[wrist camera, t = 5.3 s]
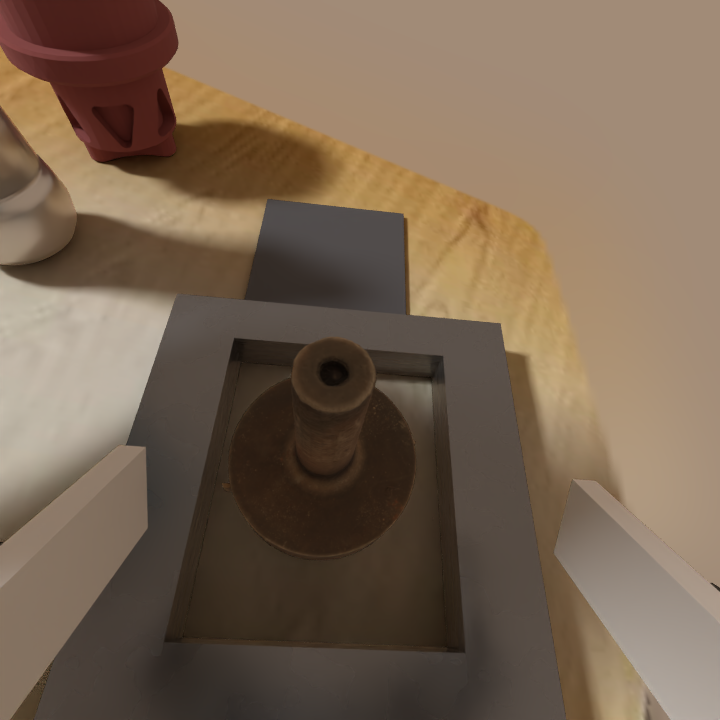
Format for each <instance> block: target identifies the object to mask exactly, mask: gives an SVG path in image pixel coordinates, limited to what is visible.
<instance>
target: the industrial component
mask: <svg viewBox="0 0 720 720" xmlns="http://www.w3.org/2000/svg"><path fill="white" fill-rule="evenodd" d="M376 375H377V374H376V370H375V366H374V364H373V362H372V360H371V358H370V356H369V354H368V353H367V351H366V350H364V349H363V348H362V347H361V346H360V345H358V344H356V343H354V342H353V341H351V340H347V339H345V338H341V337H326V338H322V339H321V340H318V341H315V342H314V343H310V344H308V345H307V346H305V347H304V348H303V349H302V350H300V351H299V352H298V354H297V356H296V357H295V358H294V361H293V368H292V373H291V378H289V379H286V380H284V381H282V382H280V383H278V384H276V385H274V386H272V387H270V388H269V389H268V390H267V391H265V392H264V393H263V394H262V395H260V396H259V397H258V398H257V399H256V400H255V401H254V402H253V403H252V404H251V405H250V407H249V408H248V409H247V410H246V412H245V413H244V414H243V416H242V418H241V420H240V421H239V423H238V425H237V427H236V429H235V432H234V435H233V438H232V441H231V444H230V449H229V458H228V473H229V482H230V483H222V486H223V488H224V490H225V491H229V492H232V493H233V496H234V499H235V501H236V504H237V506H238V508H239V510H240V511H241V513H242V515H243V516H244V518H245V519H246V521H247V522H248V523H249V524H250V526H251V527H252V528H253V530H254V531H255V532H256V533H257V534H258V535H259V536H260V537H261V538H262V539H263V540H264V541H266V542H267V543H268V544H269V545H270V546H273V547H274V548H276V549H278V550H280V551H281V552H284V553H286V554H288V555H291V556H294V557H298V558H302V559H308V560H332V559H338V558H342V557H346V556H349V555H351V554H354V553H356V552H358V551H360V550H362V549H364V548H366V547H367V546H369V545H370V544H372V543H373V542H375V541H376V540H377V539H378V538H379V537H380V536H382V535H383V534H384V533H385V532H386V531H387V530H388V529H389V528H390V527H391V526H392V525H393V524H394V523H395V521H396V520H397V519H398V517H399V516H400V515H401V513H402V511H403V510H404V508H405V506H406V504H407V502H408V500H409V497H410V495H411V492H412V489H413V485H414V480H415V474H416V453H415V444H416V442H415V441H414V439H413V438H412V435H411V432H410V429H409V427H408V424H407V423H406V421H405V419H404V417H403V416H402V414H401V412H400V411H399V410H398V408H397V407H396V406H395V405H394V404H393V402H392V401H391V400H390V399H389V398H388V397H387V396H386V395H384V394H383V393H382V392H381V391H380V390H378V389H377V388H375V383H376ZM433 519H434V518H433Z"/></svg>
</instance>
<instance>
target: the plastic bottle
mask: <svg viewBox="0 0 720 720" xmlns="http://www.w3.org/2000/svg"><path fill="white" fill-rule="evenodd" d="M76 223H77V213H76V210H75V207H74V205H73V202H72V199H71V197H70V194H69V192H68V190H67V188H66V187H65V186H64V184H63V183H62V182H61V181H60V179H59V178H58V177H57V176H56V174H55V173H54V172H53V171H52V170H51V168H50V167H49V166H48V165H47V164H46V163H45V162H44V161H43V160H42V159H41V158H40V157H39V156H38V155H37V154H36V153H35V152H34V150H33V149H32V148H31V146H30V145H29V144H28V142H27V141H26V139H25V138H24V137H23V135H22V134H21V133H20V131H19V130H18V129H17V127H16V126H15V125H14V123H13V122H12V121H11V119H10V118H9V117H8V115H7V114H6V113H5V111H4V110H3V109H2V107H1V106H0V264H1V265H11V266H13V265H25V264H30V263H34V262H38V261H41V260H43V259H46V258H48V257H50V256H52V255H54V254H56V253H57V252H59V251H60V250H61V249H63V248H64V247H65V246H66V245H67V244H68V243H69V242H70V240H71V239H72V237H73V235H74V231H75V227H76Z"/></svg>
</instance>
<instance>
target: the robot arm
mask: <svg viewBox="0 0 720 720" xmlns="http://www.w3.org/2000/svg"><path fill="white" fill-rule="evenodd" d="M147 528H148V517H147V476H146V447H140V446H126V445H118V446H117V447H116V448H115V449H114V450H113V451H111V452H110V453H109V454H108V455H107V456H105V457H104V458H103V459H102V460H101V461H100V462H98V463H97V464H96V465H95V466H94V467H93V468H91V469H90V470H89V471H88V472H87V473H85V474H84V475H83V476H82V477H81V478H80V479H78V480H77V481H76V482H75V483H74V484H72V485H71V486H70V487H69V488H68V489H67V490H65V491H64V492H63V493H62V494H61V495H59V496H58V497H57V498H56V499H55V500H54V501H52V502H51V503H50V504H49V505H48V506H47V507H45V508H44V509H43V510H42V511H41V512H39V513H38V514H37V515H36V516H35V517H34V518H32V519H31V520H30V521H29V522H28V523H26V524H25V525H24V526H23V527H22V528H21V529H19V530H18V531H17V532H16V533H15V534H13V535H12V536H11V537H10V538H9V539H8V540H6V541H5V542H0V720H10V719H11V718H12V716H13V715H14V714H15V712H16V711H17V709H18V708H19V707H20V705H21V704H22V703H23V701H24V700H25V698H26V697H27V696H28V694H29V693H30V691H31V690H32V689H33V687H34V686H35V684H36V683H37V682H38V680H39V679H40V677H41V676H42V675H43V673H44V672H45V670H46V669H47V668H48V666H49V665H50V663H51V662H52V661H53V659H54V658H55V656H56V655H57V654H58V652H59V651H60V649H61V648H62V647H63V645H64V644H65V643H66V641H67V640H68V638H69V637H70V636H71V634H72V633H73V631H74V630H75V629H76V627H77V626H78V624H79V623H80V622H81V620H82V619H83V617H84V616H85V615H86V613H87V612H88V610H89V609H90V608H91V606H92V605H93V603H94V602H95V601H96V599H97V598H98V596H99V595H100V594H101V592H102V591H103V589H104V588H105V587H106V585H107V584H108V583H109V581H110V580H111V578H112V577H113V576H114V574H115V573H116V571H117V570H118V569H119V567H120V566H121V564H122V563H123V562H124V560H125V559H126V557H127V556H128V555H129V553H130V552H131V550H132V549H133V548H134V546H135V545H136V543H137V542H138V541H139V539H140V538H141V536H142V535H143V534H144V532H145V531H146V529H147ZM554 555H555V556H556V558H557V559H558V560H559V562H560V563H561V565H562V566H563V568H564V569H565V570H566V572H567V573H568V575H569V576H570V577H571V579H572V580H573V582H574V583H575V585H576V586H577V587H578V589H579V590H580V592H581V593H582V595H583V596H584V597H585V599H586V600H587V602H588V603H589V604H590V606H591V607H592V609H593V610H594V612H595V613H596V614H597V616H598V617H599V619H600V620H601V622H602V623H603V624H604V626H605V627H606V629H607V630H608V631H609V633H610V634H611V636H612V637H613V639H614V640H615V641H616V643H617V644H618V646H619V647H620V649H621V650H622V651H623V653H624V654H625V656H626V657H627V658H628V660H629V661H630V663H631V664H632V666H633V667H634V668H635V670H636V671H637V673H638V674H639V675H640V677H641V678H642V680H643V681H644V683H645V684H646V685H647V687H648V688H649V690H650V691H651V693H652V694H653V695H654V697H655V698H656V700H657V701H658V702H659V704H660V705H661V707H662V708H663V710H664V711H665V712H666V714H667V715H668V717H669V718H670V719H671V720H720V588H719V587H718V586H716V585H715V584H713V583H709V582H708V581H707V580H706V579H705V578H704V577H703V576H701V575H700V574H699V573H698V572H697V571H696V570H694V568H692V567H691V566H690V565H689V564H688V563H687V562H686V561H685V560H684V559H682V558H681V557H680V556H679V555H678V554H677V553H676V552H675V551H674V550H672V549H671V548H670V547H669V546H668V545H667V544H666V543H665V542H663V541H662V540H661V539H660V538H659V537H658V536H657V535H655V534H654V533H653V532H652V531H651V530H650V529H649V528H648V527H647V526H646V525H644V524H643V523H642V522H641V521H640V520H639V519H638V518H637V517H636V516H634V515H633V514H632V513H631V512H630V511H629V510H628V509H627V508H625V507H624V506H623V505H622V504H621V503H620V502H619V501H618V500H617V499H615V498H614V497H613V496H612V495H611V494H610V493H609V492H608V491H607V490H605V489H604V488H603V487H602V486H601V485H600V484H599V483H598V482H596V481H593V480H580V479H572V482H571V486H570V490H569V494H568V498H567V502H566V506H565V510H564V514H563V517H562V521H561V525H560V529H559V533H558V537H557V541H556V545H555V549H554Z"/></svg>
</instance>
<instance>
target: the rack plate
mask: <svg viewBox="0 0 720 720" xmlns="http://www.w3.org/2000/svg"><path fill="white" fill-rule="evenodd" d="M326 337H341V338H345V339H347V340H351V341H353V342H354V343H356V344H358V345H360V346H361V347H362V348H363V349H364V350H366V351H367V353H368V354H369V356H370V358H371V360H372V362H373V364H374V366H375V370H376V373H382V374H394V375H406V376H418V377H430V378H431V379H432V396H433V413H434V431H435V448H436V466H437V483H438V501H439V518H440V536H441V553H442V571H443V588H444V605H445V623H446V640H447V647H436V646H409V645H382V644H354V643H327V642H300V641H273V640H245V639H218V638H191V637H183V633H184V628H185V623H186V619H187V614H188V609H189V605H190V600H191V595H192V590H193V586H194V581H195V576H196V572H197V567H198V562H199V558H200V553H201V548H202V543H203V539H204V534H205V529H206V525H207V520H208V515H209V511H210V506H211V501H212V496H213V492H214V487H215V482H216V478H217V473H218V468H219V464H220V459H221V454H222V449H223V445H224V440H225V435H226V431H227V426H228V421H229V417H230V412H231V407H232V402H233V398H234V393H235V388H236V384H237V379H238V374H239V370H240V365H241V362H247V363H260V364H272V365H284V366H293V361H294V358H295V357H296V356H297V354H298V352H299V351H300V350H302V349H303V348H304V347H305V346H307V345H308V344H310V343H314V342H315V341H318V340H321V339H322V338H326ZM126 446H140V447H146V476H147V517H148V528H147V529H146V531H145V532H144V534H143V535H142V536H141V538H140V539H139V541H138V542H137V543H136V545H135V546H134V548H133V549H132V550H131V552H130V553H129V555H128V556H127V557H126V559H125V560H124V562H123V563H122V564H121V566H120V567H119V569H118V570H117V571H116V573H115V574H114V576H113V577H112V578H111V580H110V581H109V583H108V584H107V585H106V587H105V588H104V589H103V591H102V592H101V594H100V595H99V596H98V598H97V599H96V601H95V602H94V603H93V605H92V606H91V608H90V609H89V610H88V612H87V613H86V615H85V616H84V617H83V619H82V620H81V622H80V623H79V624H78V626H77V627H76V629H75V630H74V631H73V633H72V634H71V636H70V637H69V638H68V640H67V641H66V643H65V644H64V645H63V647H62V648H61V649H60V651H59V652H58V654H57V655H56V656H55V658H54V661H53V664H52V667H51V670H50V673H49V676H48V679H47V682H46V685H45V688H44V691H43V694H42V697H41V700H40V703H39V706H38V709H37V712H36V715H35V718H34V720H566V715H565V709H564V703H563V697H562V691H561V685H560V679H559V673H558V667H557V661H556V655H555V649H554V643H553V637H552V631H551V625H550V619H549V613H548V607H547V601H546V595H545V589H544V583H543V577H542V571H541V565H540V559H539V553H538V547H537V541H536V535H535V528H534V522H533V516H532V510H531V504H530V498H529V492H528V486H527V480H526V474H525V468H524V462H523V456H522V450H521V444H520V438H519V432H518V426H517V420H516V414H515V408H514V402H513V396H512V390H511V384H510V378H509V372H508V366H507V360H506V354H505V348H504V342H503V336H502V330H501V324H500V323H490V322H479V321H468V320H458V319H447V318H436V317H425V316H414V315H403V314H392V313H382V312H371V311H360V310H349V309H338V308H327V307H316V306H306V305H295V304H284V303H273V302H262V301H251V300H240V299H230V298H219V297H208V296H197V295H186V294H177V296H176V299H175V302H174V305H173V308H172V311H171V314H170V317H169V319H168V322H167V325H166V328H165V331H164V334H163V337H162V340H161V343H160V346H159V349H158V352H157V355H156V358H155V361H154V364H153V367H152V370H151V373H150V376H149V379H148V382H147V385H146V388H145V391H144V394H143V397H142V400H141V403H140V406H139V409H138V412H137V415H136V418H135V420H134V423H133V426H132V429H131V432H130V435H129V438H128V441H127V444H126Z"/></svg>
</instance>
